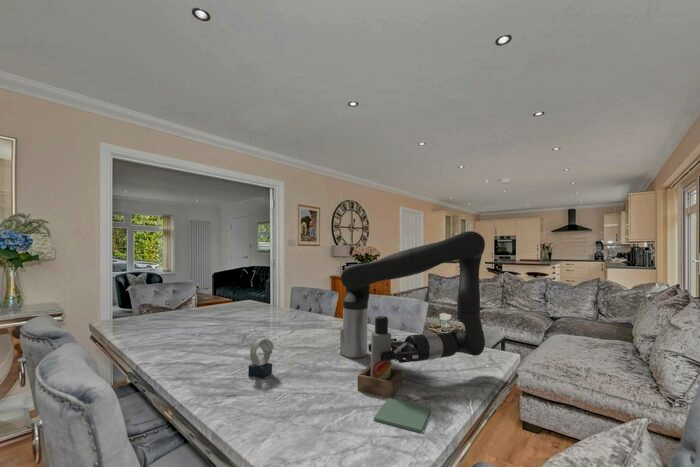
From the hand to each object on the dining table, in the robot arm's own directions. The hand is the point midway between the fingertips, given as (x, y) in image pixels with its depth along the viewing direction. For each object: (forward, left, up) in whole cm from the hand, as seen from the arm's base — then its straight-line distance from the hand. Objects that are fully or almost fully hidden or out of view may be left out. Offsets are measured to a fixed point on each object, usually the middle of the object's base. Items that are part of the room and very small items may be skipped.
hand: (374, 352), depth 91 cm
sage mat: (+11, -11, -10) cm, 18 cm away
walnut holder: (+1, +1, -10) cm, 10 cm away
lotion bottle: (+1, +1, -10) cm, 10 cm away
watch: (-35, -8, -10) cm, 37 cm away
